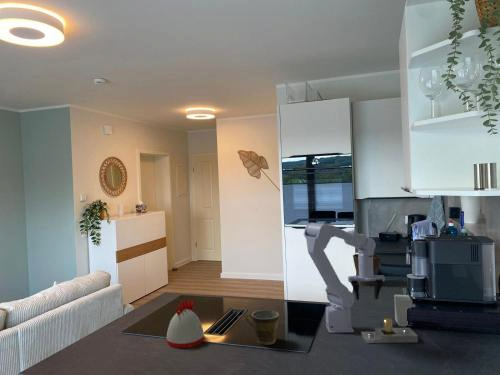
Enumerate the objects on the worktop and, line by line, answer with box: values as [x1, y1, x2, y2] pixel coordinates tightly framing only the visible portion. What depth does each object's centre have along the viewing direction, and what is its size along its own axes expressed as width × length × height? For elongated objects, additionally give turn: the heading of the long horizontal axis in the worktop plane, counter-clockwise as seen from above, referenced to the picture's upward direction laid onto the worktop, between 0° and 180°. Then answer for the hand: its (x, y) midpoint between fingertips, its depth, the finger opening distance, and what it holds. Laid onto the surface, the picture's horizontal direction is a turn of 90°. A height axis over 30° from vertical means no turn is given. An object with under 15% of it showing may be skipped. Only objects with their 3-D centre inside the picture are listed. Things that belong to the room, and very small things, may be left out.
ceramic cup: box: [245, 309, 280, 346], centre depth 140 cm, size 13×10×10 cm
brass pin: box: [383, 317, 394, 335], centre depth 139 cm, size 3×3×7 cm
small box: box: [393, 294, 414, 328], centre depth 153 cm, size 8×6×10 cm
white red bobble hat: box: [166, 299, 205, 349], centre depth 143 cm, size 14×14×15 cm
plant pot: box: [352, 253, 381, 287], centre depth 214 cm, size 15×15×16 cm
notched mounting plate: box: [360, 327, 419, 344], centre depth 139 cm, size 18×8×3 cm, turn 88°
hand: (366, 298), depth 156 cm, fingers open, 7 cm apart
